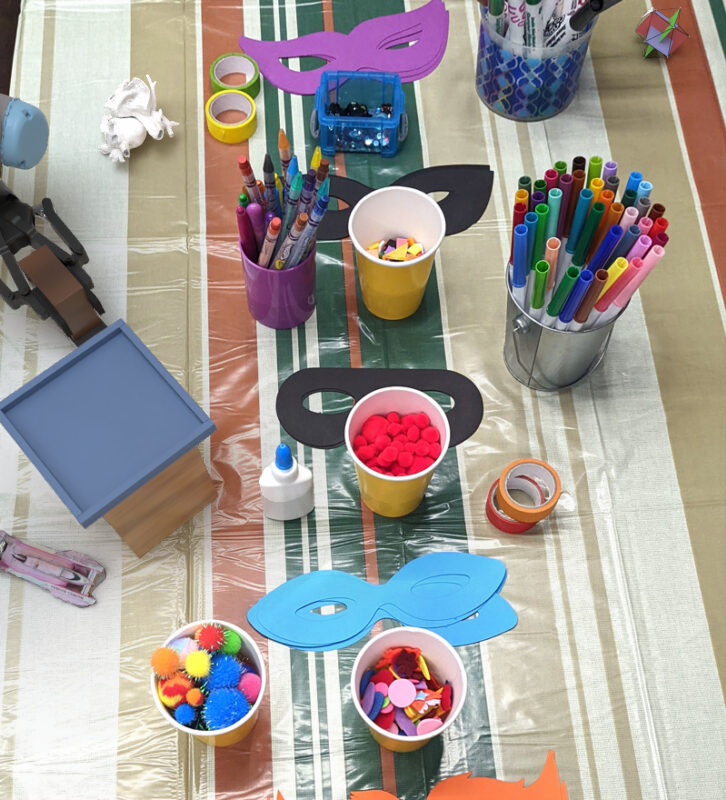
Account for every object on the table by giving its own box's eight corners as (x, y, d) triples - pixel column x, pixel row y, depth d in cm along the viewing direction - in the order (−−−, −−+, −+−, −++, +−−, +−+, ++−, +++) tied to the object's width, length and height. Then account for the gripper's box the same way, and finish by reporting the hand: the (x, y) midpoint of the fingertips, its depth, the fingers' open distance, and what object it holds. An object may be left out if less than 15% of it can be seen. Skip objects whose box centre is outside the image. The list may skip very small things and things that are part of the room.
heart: (139, 61, 125) (176, 103, 119) (161, 99, 131) (197, 140, 125) (70, 111, 125) (104, 154, 119) (95, 146, 130) (128, 189, 125)
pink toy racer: (112, 566, 105) (102, 556, 101) (91, 610, 103) (81, 601, 99) (11, 532, 106) (-2, 520, 102) (-11, 574, 104) (-25, 564, 100)
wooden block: (81, 487, 108) (22, 417, 89) (160, 428, 111) (120, 349, 92) (138, 558, 105) (90, 501, 86) (219, 496, 108) (189, 428, 89)
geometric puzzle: (699, 32, 132) (682, -14, 127) (689, 65, 130) (671, 19, 124) (653, 45, 137) (635, 1, 131) (642, 77, 134) (623, 34, 129)
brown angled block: (38, 304, 115) (10, 258, 106) (68, 284, 116) (42, 237, 107) (82, 355, 112) (57, 313, 103) (112, 335, 113) (90, 291, 104)
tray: (-5, 415, 90) (-11, 408, 88) (124, 325, 93) (120, 317, 92) (85, 529, 85) (80, 524, 84) (217, 430, 89) (214, 423, 88)
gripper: (45, 183, 118) (148, 296, 112) (-67, 253, 114) (34, 375, 108) (25, 142, 111) (134, 261, 105) (-94, 215, 107) (11, 343, 101)
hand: (83, 318), depth 106 cm, fingers closed on brown angled block, 4 cm apart
